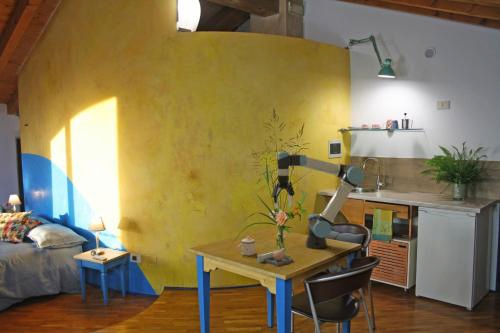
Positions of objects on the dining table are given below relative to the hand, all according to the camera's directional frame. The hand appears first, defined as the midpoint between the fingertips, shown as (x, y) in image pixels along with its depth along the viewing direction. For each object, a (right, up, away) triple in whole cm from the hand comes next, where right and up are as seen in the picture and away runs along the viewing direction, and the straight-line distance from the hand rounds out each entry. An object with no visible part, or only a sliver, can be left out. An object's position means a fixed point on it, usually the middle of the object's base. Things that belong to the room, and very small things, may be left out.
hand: (283, 206), depth 275 cm
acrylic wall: (-9, -33, -13) cm, 36 cm away
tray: (-5, -33, -19) cm, 38 cm away
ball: (-5, -29, -19) cm, 35 cm away
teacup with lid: (-25, -32, -2) cm, 41 cm away
